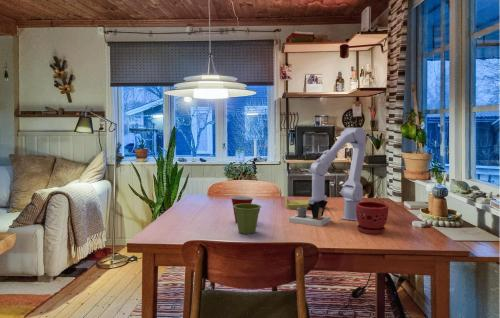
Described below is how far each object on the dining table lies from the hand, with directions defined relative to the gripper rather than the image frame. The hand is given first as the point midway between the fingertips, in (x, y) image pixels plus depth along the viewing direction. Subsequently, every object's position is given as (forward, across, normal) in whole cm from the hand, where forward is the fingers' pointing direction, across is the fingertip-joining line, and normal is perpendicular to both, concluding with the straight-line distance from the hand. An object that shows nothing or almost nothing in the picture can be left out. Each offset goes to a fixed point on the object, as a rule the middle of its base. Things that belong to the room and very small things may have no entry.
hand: (317, 217), depth 197 cm
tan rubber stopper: (+2, 0, +1) cm, 2 cm away
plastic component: (+3, +27, +22) cm, 35 cm away
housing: (+3, 0, +4) cm, 5 cm away
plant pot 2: (+3, -2, -26) cm, 26 cm away
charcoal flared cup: (+3, -1, +8) cm, 8 cm away
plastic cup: (+3, -19, +30) cm, 36 cm away
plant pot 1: (+3, -33, +16) cm, 37 cm away
